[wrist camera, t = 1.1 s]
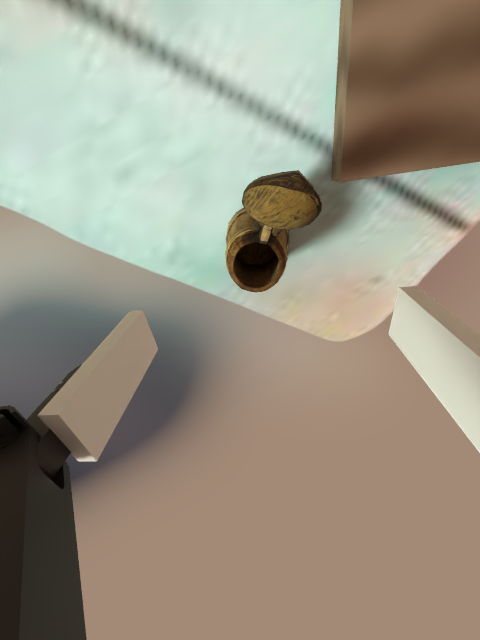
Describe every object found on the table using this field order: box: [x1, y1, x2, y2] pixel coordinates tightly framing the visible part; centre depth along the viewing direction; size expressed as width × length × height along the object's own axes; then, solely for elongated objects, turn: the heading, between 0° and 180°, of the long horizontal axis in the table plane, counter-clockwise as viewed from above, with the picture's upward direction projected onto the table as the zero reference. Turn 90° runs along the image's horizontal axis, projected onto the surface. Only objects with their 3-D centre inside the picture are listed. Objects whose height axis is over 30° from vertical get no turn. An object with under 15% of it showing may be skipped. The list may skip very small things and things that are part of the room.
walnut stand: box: [332, 0, 480, 182], centre depth 23 cm, size 18×18×4 cm
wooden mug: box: [226, 170, 322, 292], centre depth 26 cm, size 9×14×18 cm, turn 165°
